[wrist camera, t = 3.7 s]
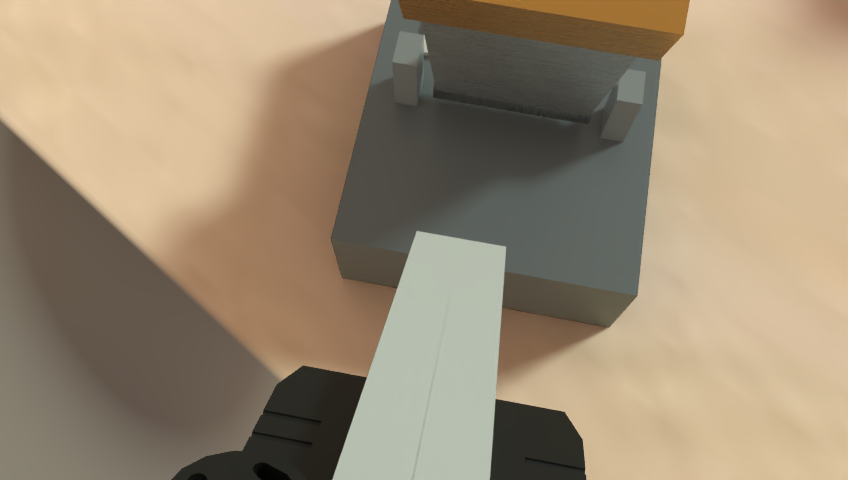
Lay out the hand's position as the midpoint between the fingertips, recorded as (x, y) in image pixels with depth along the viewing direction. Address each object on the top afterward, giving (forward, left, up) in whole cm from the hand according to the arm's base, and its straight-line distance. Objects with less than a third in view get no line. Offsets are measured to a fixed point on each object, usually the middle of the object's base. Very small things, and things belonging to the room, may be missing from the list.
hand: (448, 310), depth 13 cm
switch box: (-5, -10, -15) cm, 19 cm away
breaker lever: (-5, -10, -10) cm, 14 cm away
